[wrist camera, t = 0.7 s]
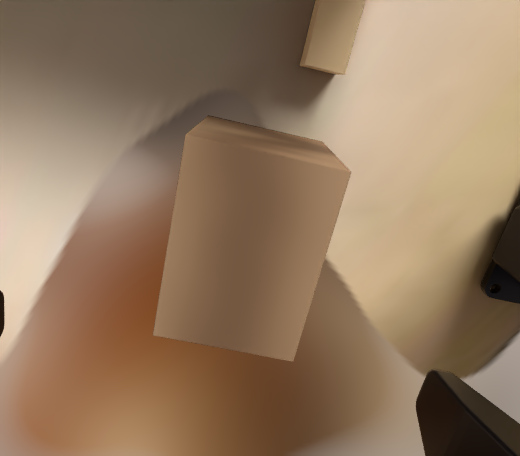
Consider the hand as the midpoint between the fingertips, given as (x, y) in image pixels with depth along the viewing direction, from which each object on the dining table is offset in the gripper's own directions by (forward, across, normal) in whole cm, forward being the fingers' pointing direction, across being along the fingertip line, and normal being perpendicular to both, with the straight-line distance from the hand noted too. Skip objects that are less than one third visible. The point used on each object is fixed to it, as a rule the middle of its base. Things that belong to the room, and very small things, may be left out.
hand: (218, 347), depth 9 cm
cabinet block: (+11, 0, 0) cm, 11 cm away
